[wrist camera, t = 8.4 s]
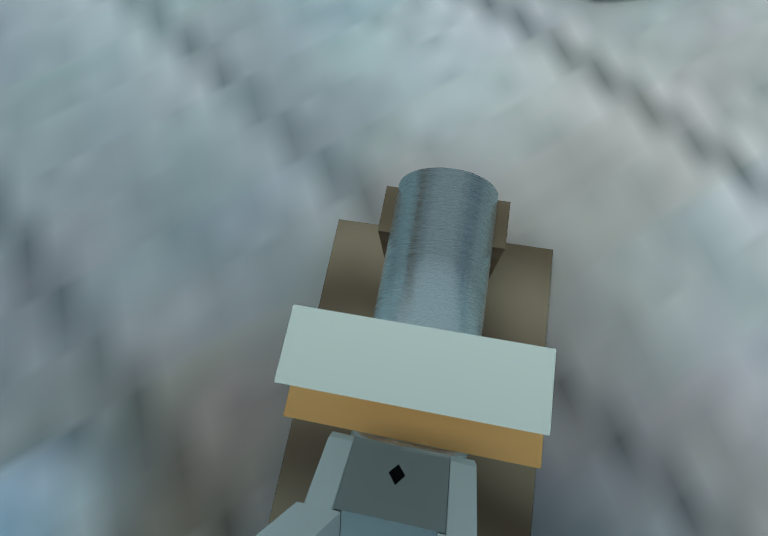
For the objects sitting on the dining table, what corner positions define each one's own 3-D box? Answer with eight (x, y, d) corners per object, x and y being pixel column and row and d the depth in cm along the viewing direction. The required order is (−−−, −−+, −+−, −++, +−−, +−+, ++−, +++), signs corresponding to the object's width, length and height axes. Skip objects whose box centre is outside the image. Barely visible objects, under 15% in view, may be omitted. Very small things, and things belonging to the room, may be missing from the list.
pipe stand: (496, 864, 17) (557, 1222, 10) (217, 774, 19) (81, 1023, 11) (546, 256, 25) (603, 191, 17) (342, 227, 26) (311, 154, 19)
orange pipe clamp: (495, 445, 18) (666, 533, 6) (331, 412, 19) (162, 425, 6) (503, 371, 19) (665, 305, 6) (345, 343, 20) (221, 237, 7)
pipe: (396, 981, 13) (386, 1241, 9) (262, 932, 13) (195, 1156, 9) (491, 221, 19) (509, 174, 15) (400, 209, 20) (394, 160, 16)
